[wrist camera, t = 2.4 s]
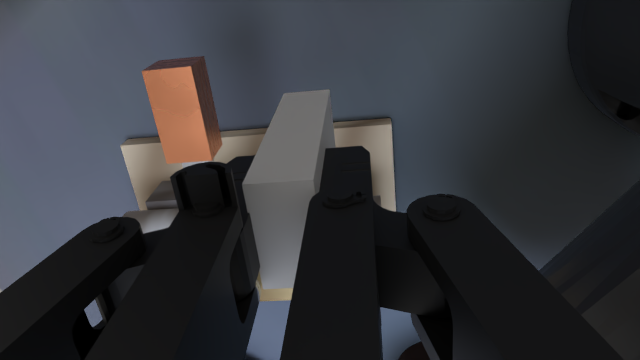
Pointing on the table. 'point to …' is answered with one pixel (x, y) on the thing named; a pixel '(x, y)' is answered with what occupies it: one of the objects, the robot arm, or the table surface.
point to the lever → (184, 112)
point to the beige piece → (155, 173)
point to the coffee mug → (415, 353)
